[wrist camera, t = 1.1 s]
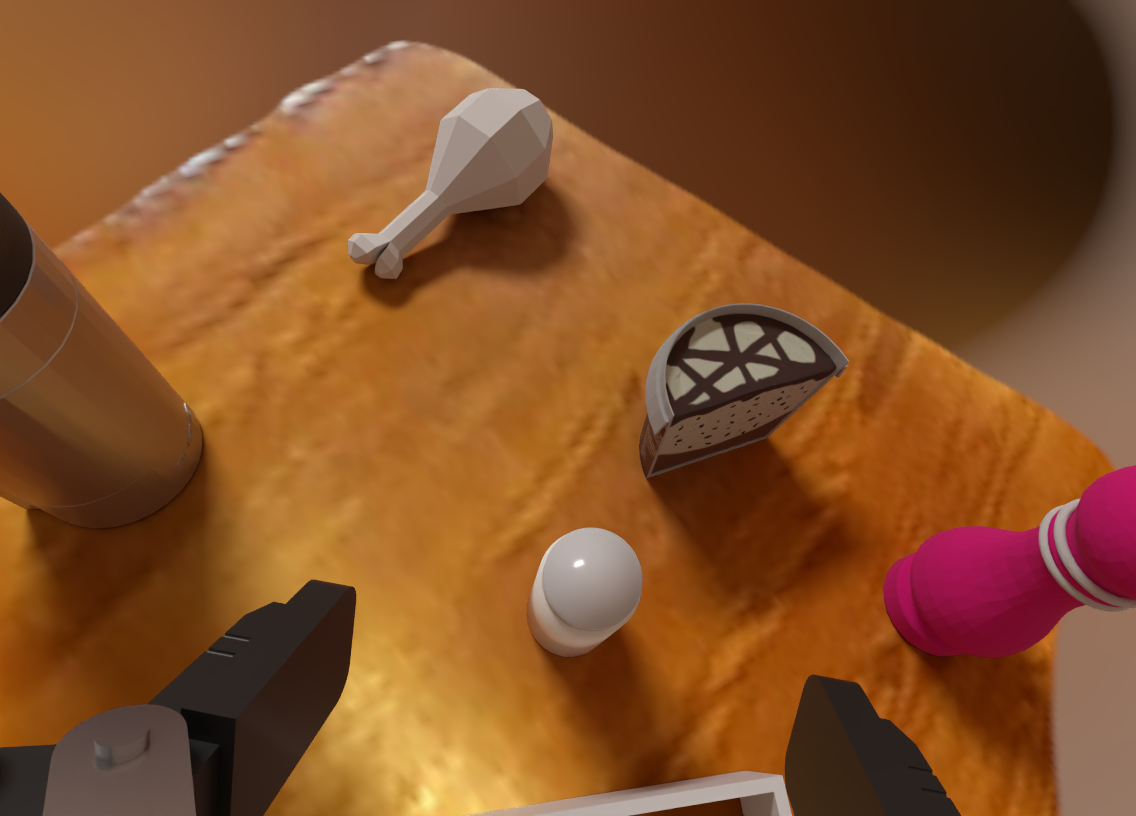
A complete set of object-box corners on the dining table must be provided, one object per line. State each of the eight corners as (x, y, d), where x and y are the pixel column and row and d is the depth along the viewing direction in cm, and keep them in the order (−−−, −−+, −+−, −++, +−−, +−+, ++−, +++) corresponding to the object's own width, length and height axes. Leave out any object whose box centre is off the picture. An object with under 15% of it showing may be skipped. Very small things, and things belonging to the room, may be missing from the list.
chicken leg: (323, 243, 49) (315, 206, 41) (485, 99, 54) (506, 40, 46) (405, 322, 51) (411, 301, 43) (556, 176, 55) (588, 132, 47)
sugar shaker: (531, 662, 37) (545, 639, 28) (522, 573, 39) (534, 528, 31) (616, 651, 38) (655, 626, 29) (603, 565, 40) (636, 519, 31)
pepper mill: (957, 542, 43) (1286, 407, 26) (1003, 657, 40) (1414, 593, 22) (859, 554, 42) (1132, 420, 24) (898, 672, 39) (1245, 617, 21)
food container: (743, 360, 48) (803, 275, 39) (784, 432, 46) (857, 359, 37) (591, 405, 45) (618, 323, 36) (625, 485, 42) (664, 418, 34)
